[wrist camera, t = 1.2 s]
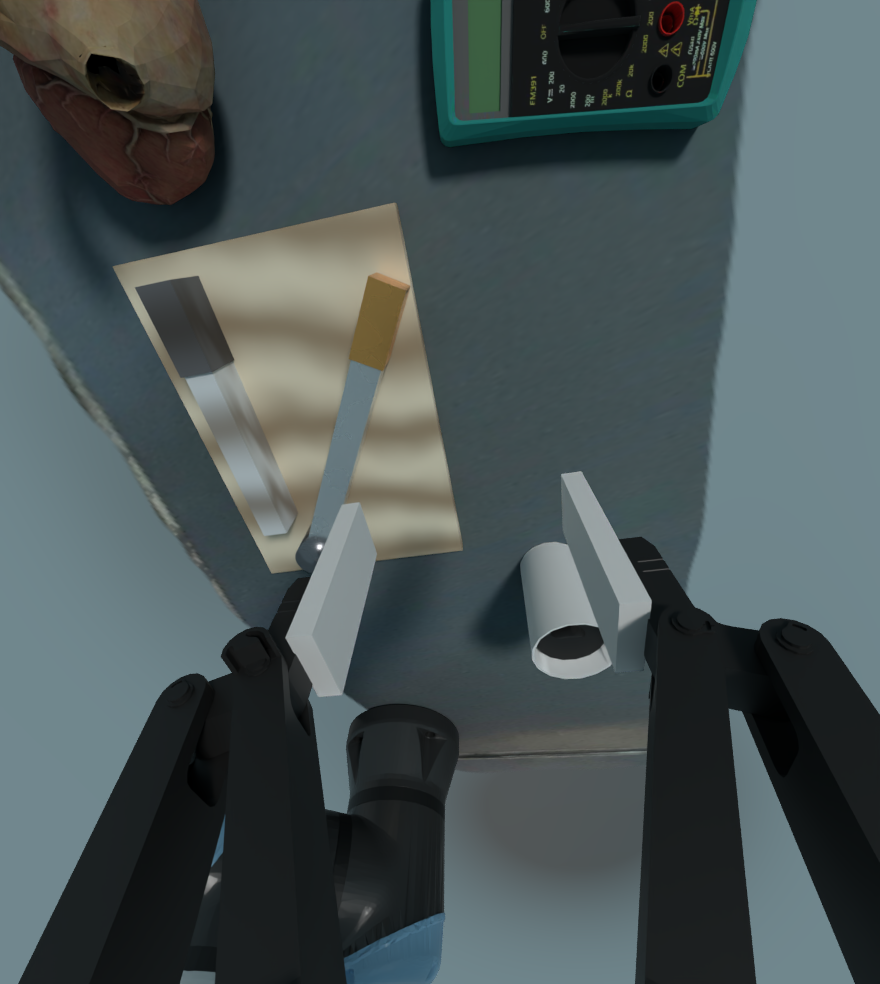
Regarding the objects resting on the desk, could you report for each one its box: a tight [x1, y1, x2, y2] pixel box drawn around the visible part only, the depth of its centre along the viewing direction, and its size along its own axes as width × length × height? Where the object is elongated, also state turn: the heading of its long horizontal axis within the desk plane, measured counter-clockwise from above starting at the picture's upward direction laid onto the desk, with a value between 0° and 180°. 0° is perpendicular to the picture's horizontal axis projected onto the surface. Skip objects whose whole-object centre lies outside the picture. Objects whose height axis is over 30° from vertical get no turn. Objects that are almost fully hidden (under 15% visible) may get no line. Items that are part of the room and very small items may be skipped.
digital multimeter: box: [431, 0, 757, 147], centre depth 21 cm, size 8×15×3 cm, turn 93°
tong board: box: [112, 203, 463, 573], centre depth 32 cm, size 27×19×4 cm
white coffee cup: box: [520, 542, 612, 679], centre depth 36 cm, size 7×7×10 cm
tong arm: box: [295, 272, 411, 574], centre depth 31 cm, size 24×3×4 cm, turn 160°
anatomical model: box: [0, 0, 215, 205], centre depth 18 cm, size 13×9×15 cm
